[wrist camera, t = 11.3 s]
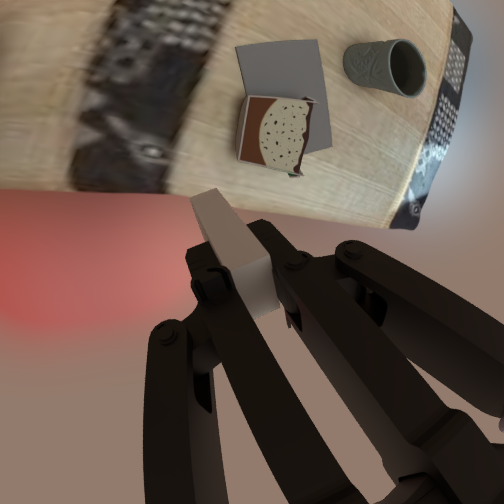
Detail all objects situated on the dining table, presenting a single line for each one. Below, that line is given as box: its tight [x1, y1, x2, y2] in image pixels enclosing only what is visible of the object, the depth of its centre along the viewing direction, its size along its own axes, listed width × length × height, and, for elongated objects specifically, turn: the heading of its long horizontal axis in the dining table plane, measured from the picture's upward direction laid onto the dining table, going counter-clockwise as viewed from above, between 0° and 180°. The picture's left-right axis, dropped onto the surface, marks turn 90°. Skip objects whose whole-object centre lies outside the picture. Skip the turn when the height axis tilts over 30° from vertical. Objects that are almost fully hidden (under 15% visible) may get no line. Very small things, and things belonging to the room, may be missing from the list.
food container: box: [236, 95, 320, 178], centre depth 37 cm, size 12×6×10 cm
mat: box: [235, 40, 332, 155], centre depth 38 cm, size 14×20×1 cm
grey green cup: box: [343, 39, 427, 98], centre depth 33 cm, size 10×10×12 cm
